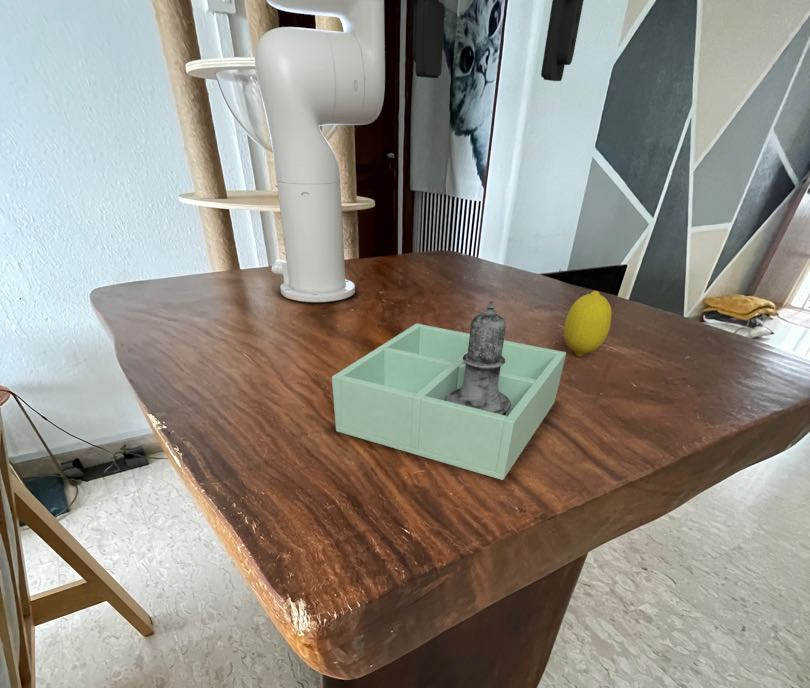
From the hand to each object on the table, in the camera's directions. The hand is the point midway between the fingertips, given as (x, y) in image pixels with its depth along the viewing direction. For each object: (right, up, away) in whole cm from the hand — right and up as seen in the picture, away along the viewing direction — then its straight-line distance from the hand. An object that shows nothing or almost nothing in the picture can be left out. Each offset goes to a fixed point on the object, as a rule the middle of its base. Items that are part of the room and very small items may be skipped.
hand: (487, 78), depth 36 cm
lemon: (+17, -10, +29) cm, 35 cm away
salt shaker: (+1, -24, +11) cm, 27 cm away
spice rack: (-1, -21, +15) cm, 26 cm away
